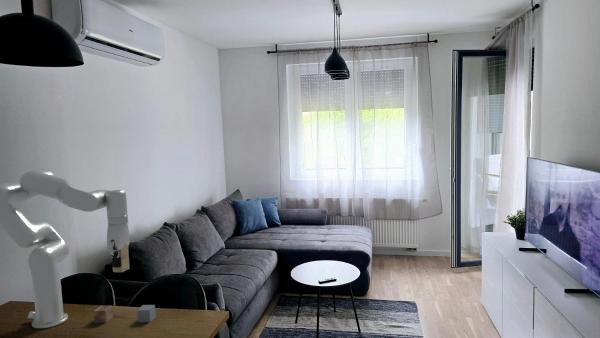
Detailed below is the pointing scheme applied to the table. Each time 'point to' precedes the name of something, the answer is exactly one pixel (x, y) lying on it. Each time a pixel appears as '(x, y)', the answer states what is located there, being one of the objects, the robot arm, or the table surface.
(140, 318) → the grey cube
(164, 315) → the table surface
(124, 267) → the box
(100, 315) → the tan cube
